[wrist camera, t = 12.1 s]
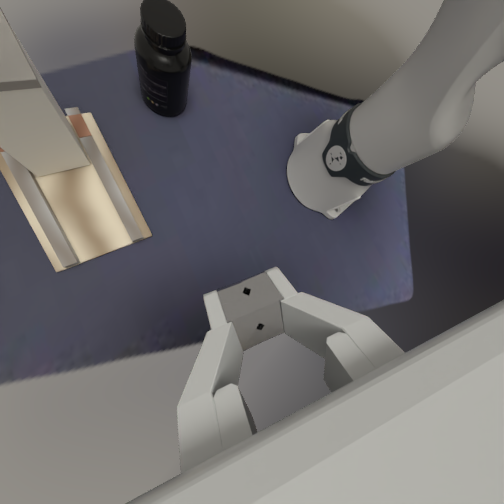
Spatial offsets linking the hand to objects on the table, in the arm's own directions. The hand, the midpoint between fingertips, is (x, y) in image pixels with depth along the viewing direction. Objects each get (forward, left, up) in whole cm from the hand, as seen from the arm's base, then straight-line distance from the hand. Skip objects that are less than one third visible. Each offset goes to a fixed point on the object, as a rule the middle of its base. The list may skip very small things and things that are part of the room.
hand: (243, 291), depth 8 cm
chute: (+7, -17, -27) cm, 33 cm away
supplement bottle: (-10, -28, -27) cm, 40 cm away
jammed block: (+7, -23, -27) cm, 36 cm away
